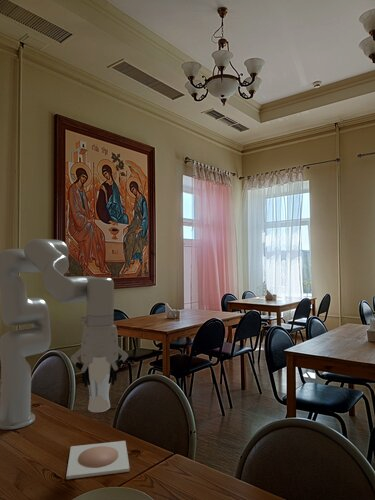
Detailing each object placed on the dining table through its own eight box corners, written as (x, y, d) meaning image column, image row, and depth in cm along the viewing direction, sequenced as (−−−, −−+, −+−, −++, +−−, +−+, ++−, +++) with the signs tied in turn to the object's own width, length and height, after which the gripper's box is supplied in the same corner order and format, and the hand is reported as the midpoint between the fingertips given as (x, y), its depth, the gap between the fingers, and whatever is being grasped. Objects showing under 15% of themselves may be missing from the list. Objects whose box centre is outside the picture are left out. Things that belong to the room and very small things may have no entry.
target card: (70, 449, 111) (70, 445, 111) (125, 443, 115) (125, 439, 115) (66, 479, 96) (66, 474, 96) (129, 471, 99) (129, 467, 99)
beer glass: (81, 410, 104) (81, 355, 105) (98, 402, 110) (98, 350, 111) (100, 414, 101) (100, 358, 102) (116, 406, 107) (117, 353, 108)
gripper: (67, 324, 101) (66, 391, 100) (132, 322, 105) (131, 386, 104) (69, 320, 108) (68, 382, 108) (129, 318, 112) (129, 378, 112)
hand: (99, 384), depth 106 cm, fingers closed on beer glass, 6 cm apart
